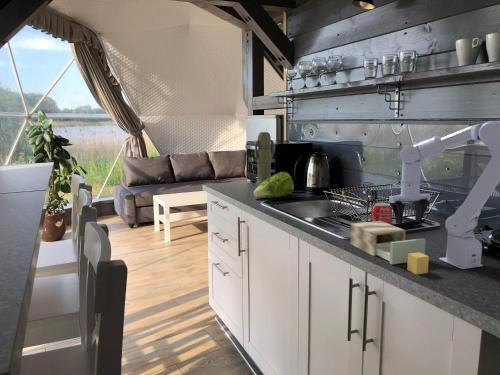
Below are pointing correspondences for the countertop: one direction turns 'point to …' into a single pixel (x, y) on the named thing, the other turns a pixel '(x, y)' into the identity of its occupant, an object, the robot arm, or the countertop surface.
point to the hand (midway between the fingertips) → (408, 222)
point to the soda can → (382, 213)
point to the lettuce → (275, 186)
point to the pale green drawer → (400, 250)
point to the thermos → (264, 156)
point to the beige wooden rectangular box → (374, 235)
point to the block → (417, 263)
